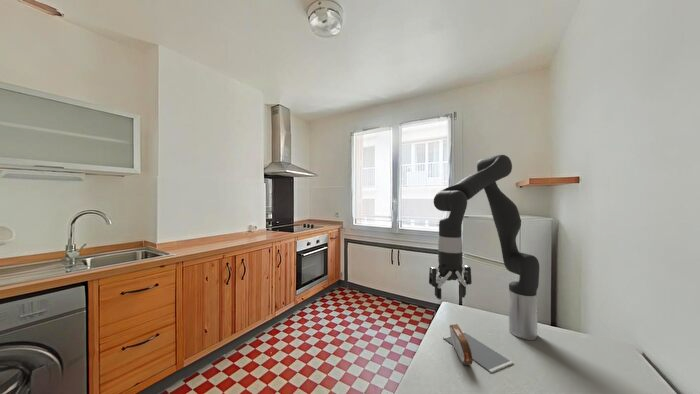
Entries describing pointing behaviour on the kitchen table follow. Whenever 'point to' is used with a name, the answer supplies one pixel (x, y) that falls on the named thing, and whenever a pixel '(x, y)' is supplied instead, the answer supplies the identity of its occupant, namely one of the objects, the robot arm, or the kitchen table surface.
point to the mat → (484, 354)
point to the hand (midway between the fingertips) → (450, 297)
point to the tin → (461, 344)
